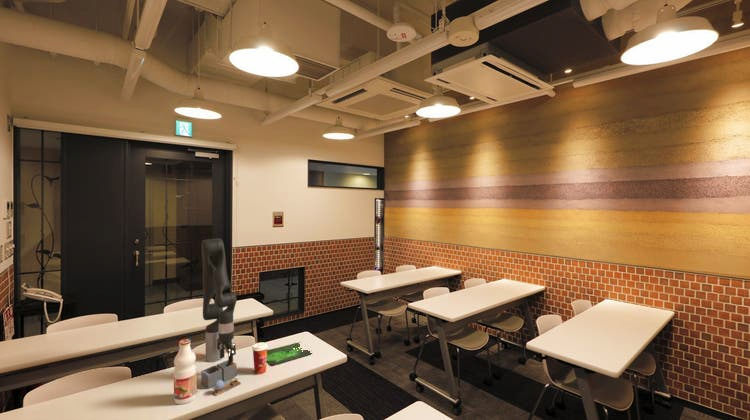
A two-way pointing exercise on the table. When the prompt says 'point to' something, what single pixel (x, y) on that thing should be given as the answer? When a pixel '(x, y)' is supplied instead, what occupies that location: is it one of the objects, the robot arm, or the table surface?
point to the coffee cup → (260, 357)
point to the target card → (228, 382)
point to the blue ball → (219, 385)
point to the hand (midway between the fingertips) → (226, 360)
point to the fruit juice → (185, 374)
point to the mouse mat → (285, 354)
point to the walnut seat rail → (227, 387)
